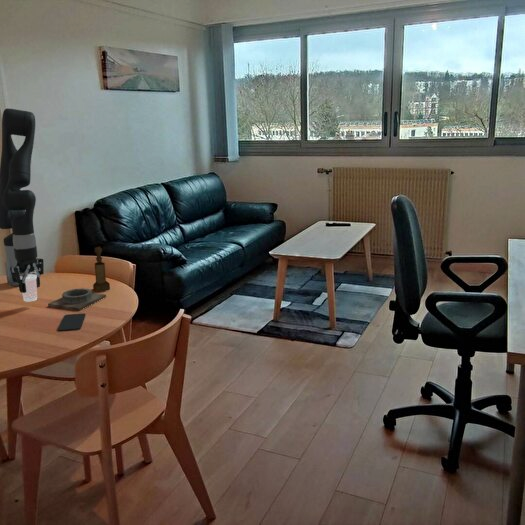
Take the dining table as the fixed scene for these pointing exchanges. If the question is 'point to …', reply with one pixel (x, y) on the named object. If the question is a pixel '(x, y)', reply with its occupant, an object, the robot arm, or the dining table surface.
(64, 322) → the phone
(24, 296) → the beverage cup
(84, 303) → the ring holder
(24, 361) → the dining table surface
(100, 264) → the pepper mill
